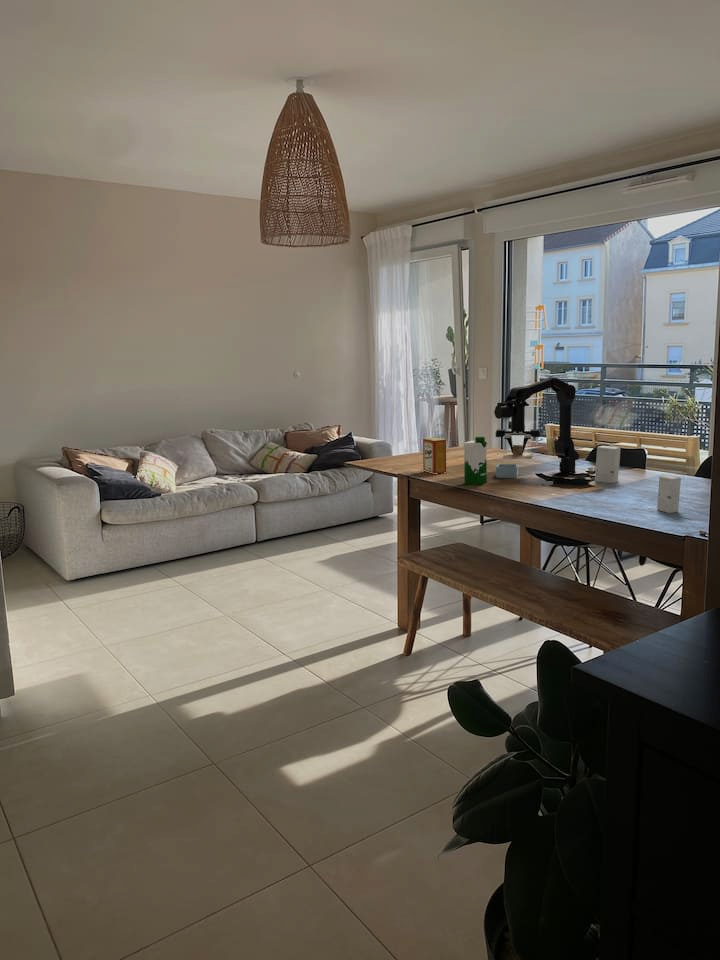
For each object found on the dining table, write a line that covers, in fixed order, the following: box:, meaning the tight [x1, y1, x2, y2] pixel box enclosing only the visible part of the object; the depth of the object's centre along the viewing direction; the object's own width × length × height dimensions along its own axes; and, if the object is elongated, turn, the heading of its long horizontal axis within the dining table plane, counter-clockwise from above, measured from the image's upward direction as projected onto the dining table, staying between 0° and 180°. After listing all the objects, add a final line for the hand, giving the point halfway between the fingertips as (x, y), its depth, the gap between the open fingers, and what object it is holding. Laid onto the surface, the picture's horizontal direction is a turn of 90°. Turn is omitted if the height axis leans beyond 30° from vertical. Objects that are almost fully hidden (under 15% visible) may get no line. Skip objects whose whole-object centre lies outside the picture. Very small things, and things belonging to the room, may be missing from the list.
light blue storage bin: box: [495, 463, 519, 479], centre depth 334 cm, size 9×9×5 cm
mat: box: [517, 477, 554, 486], centre depth 321 cm, size 14×14×1 cm
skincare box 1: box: [594, 445, 621, 484], centre depth 315 cm, size 8×6×15 cm
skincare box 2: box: [656, 474, 682, 514], centre depth 261 cm, size 6×4×12 cm
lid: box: [502, 444, 533, 460], centre depth 327 cm, size 12×12×5 cm
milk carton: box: [462, 436, 489, 486], centre depth 320 cm, size 9×9×20 cm
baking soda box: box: [422, 437, 447, 474], centre depth 350 cm, size 10×6×16 cm
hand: (517, 452), depth 327 cm, fingers closed on lid, 4 cm apart
